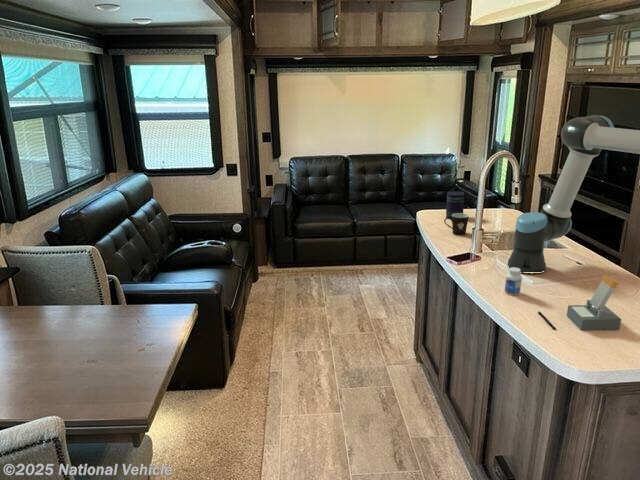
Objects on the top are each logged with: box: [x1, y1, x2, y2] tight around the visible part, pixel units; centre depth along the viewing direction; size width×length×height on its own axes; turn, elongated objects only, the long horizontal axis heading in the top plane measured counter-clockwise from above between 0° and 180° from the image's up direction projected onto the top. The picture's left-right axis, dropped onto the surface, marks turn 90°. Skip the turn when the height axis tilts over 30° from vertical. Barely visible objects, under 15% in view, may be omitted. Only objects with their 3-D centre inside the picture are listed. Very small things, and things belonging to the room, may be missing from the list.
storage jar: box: [445, 190, 465, 219], centre depth 275 cm, size 10×10×15 cm
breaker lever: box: [588, 274, 620, 314], centre depth 152 cm, size 2×6×12 cm, turn 179°
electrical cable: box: [536, 310, 557, 331], centre depth 158 cm, size 12×1×1 cm, turn 0°
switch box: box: [566, 299, 622, 332], centre depth 154 cm, size 12×10×6 cm
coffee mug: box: [444, 212, 470, 236], centre depth 248 cm, size 12×9×10 cm
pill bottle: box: [504, 267, 523, 296], centre depth 177 cm, size 6×5×10 cm
